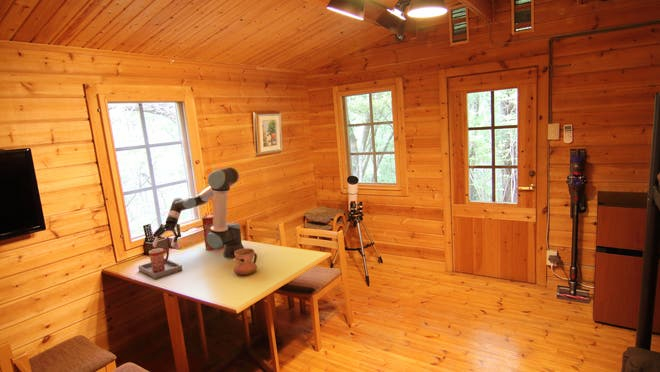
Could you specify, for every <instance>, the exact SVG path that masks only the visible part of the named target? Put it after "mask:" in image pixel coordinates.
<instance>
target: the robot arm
mask: <svg viewBox="0 0 660 372" xmlns="http://www.w3.org/2000/svg"><path fill="white" fill-rule="evenodd" d="M239 176H240V173H239V172H238V170H237V169H236V168H234V167H225V168H220V169H219V168H218V169H216V170H213V171H211V172H210V173H209V175H208V177H207V183H208V184H209V186H208V187H206V188H205V189H204V190H202V191H201V192H199V193H198V194H197V195H195V196H191V197H187V198H181V197H175V198H174V199H173V200H172V203H171V206H170V209H169V212H168V215H167V217H166V219H165V224H163V223H161V224H160V225H159V227H158V228H157V229H156V230H155V232H154V233H153V234H152V236H153V237H154V238H153V243H152V246H153V247H154V248H156V247H157V245H158V242H159V237H161V236H162V235H163V234H165V233H166V232H172V233H173V235H174V236H173V237H172V240H171V244H170V246H171V247H172V248H174V247H175V246H176V245H175V244H176V243H177V241H178V239H179V238H181V237H182V233H181V225H180V224H179V218H180V215H181V213H182V211H186V210H190V209H193V208H195V207H199V206H203V205H206V204H207V203H208V202H209V200H211V199H212V198H213V213H212V215H213V226H212V227H211V229H210V233H209V234H208V235H207V242H208V244H209V245H210V246H211V247H212V248H215V249H214V250H218V249H217V248H220V247H222V246H224V248H223V257H224V258H226V259H236V258H235V255H234V252H235V251H237V250H239V249H244V247H245V246H244V245H243V242H242V233H241V225H240V224H239V223H236V222H227V209H228V192H230V189H231V186H233V185H235V184H236V183H237V182H238V181H239V179H240V177H239ZM220 249H221V248H220Z"/></svg>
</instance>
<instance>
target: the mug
mask: <svg viewBox="0 0 660 372" xmlns="http://www.w3.org/2000/svg"><path fill="white" fill-rule="evenodd" d="M165 253H166V257H165ZM148 254H149V259H150V262H151V265H152V269H153V272H160V271H163V270H164V269H165V266H164V265H165V263H166V261H167V259H168V260H169V256H170V255H169V250H167V249H164V248H161V247H159V248H154V249H150V250H149V251H148ZM164 258H166V259H165V261H164Z"/></svg>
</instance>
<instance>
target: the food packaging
mask: <svg viewBox="0 0 660 372" xmlns="http://www.w3.org/2000/svg"><path fill="white" fill-rule="evenodd" d="M201 220H202V228H203V239H204V246H205V251H211V250H218V249H219V250H220V249H224V248H225V245H224V246H222V247H220V248H217V249H215V248H212V247H211V246H210V245H209V244H208V242H207V235H208V234H209V233H210V229H211V227H212V226H213V214H207V215H203V216H202V219H201Z"/></svg>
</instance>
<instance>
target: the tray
mask: <svg viewBox="0 0 660 372" xmlns="http://www.w3.org/2000/svg"><path fill="white" fill-rule="evenodd" d="M165 259H166V257H164V261H165ZM164 266H165V269H164V270H163V271H160V272H153V269H152V265H151V261H150V262H148V263H145V264H141V265H138V271H139V272H140V273H142V274H144V275H146V276H148V277H149V278H151V279H153V280H159V279H161V278H164V277H168V276H171V275H173V274H176V273H178V272H179V273H180V272H182V271H183V266H182V264H179V263H177V262H175V261H173V260H170V259H169V258H168V259H167V261H166V263H165V265H164Z"/></svg>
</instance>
